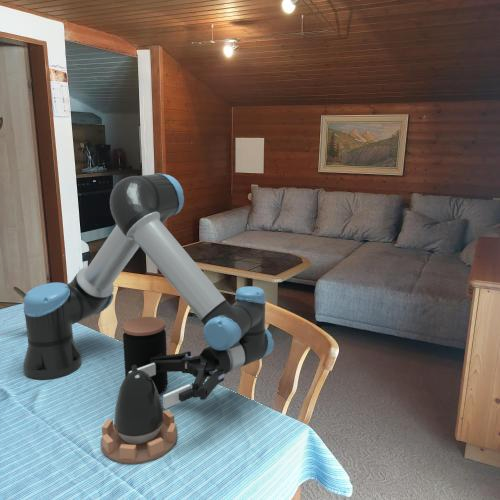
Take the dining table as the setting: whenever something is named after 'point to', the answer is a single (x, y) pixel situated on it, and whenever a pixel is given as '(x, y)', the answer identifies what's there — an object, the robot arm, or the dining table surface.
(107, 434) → the castellated collar
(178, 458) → the dining table surface
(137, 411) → the pump dispenser
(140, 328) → the coffee jar
